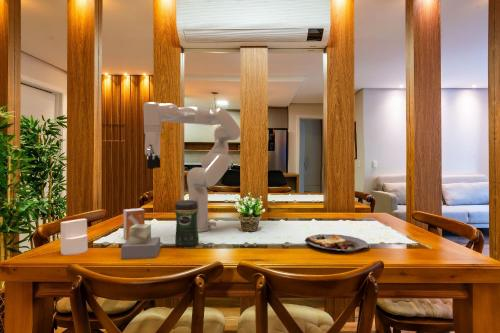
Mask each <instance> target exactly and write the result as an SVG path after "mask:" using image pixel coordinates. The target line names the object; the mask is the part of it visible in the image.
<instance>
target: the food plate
mask: <svg viewBox="0 0 500 333" xmlns="http://www.w3.org/2000/svg"><path fill="white" fill-rule="evenodd" d="M304 242H305V244H308V245H310V246H312V247H314V248H318V249H319V248H320V249H324V250H326V251H327V250H329V251H335V252H336V251H337V252H340V251H343V252H346V253H347V252H348V253H351V252H353V253H354V252H356V251H358V250H362V249H364V248H368V247H369V244H368V242H367V241H365V240H363V239H362V238H359V237H354V236H351V235H344V234H334V233H333V234H327V233H325V234H324V233H320V234H315V235H311V236H307V237H306V238H305V240H304ZM351 247H354V248H351Z"/></svg>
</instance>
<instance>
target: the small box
mask: <svg viewBox="0 0 500 333" xmlns="http://www.w3.org/2000/svg"><path fill="white" fill-rule="evenodd" d="M122 212H123V213H122V214H123V239H125V241H127V240H128V239H129V238H130V229H129V228H130V227H132V226H133V225H135V224H146V223H145V220H146V219H145V216H146V215H145V209H144V208H142V207H139V208H129V209H128V208H126V209H123V211H122Z"/></svg>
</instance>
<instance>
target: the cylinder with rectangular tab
mask: <svg viewBox="0 0 500 333" xmlns="http://www.w3.org/2000/svg"><path fill="white" fill-rule="evenodd" d="M87 251H88V219H87V218H78V219H72V220H66V221H60V254H61V255H64V256H73V255H74V256H75V255H79V254H84V253H86V252H87Z"/></svg>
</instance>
